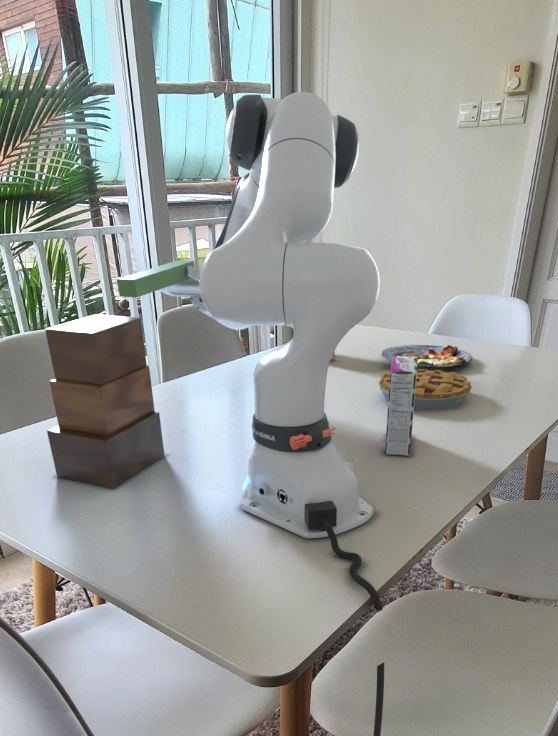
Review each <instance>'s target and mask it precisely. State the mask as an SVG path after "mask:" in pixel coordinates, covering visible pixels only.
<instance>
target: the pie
mask: <svg viewBox="0 0 558 736" xmlns="http://www.w3.org/2000/svg"><path fill="white" fill-rule="evenodd" d="M467 378H468V377H466V376H465V375H458V373H457V372H455V371H450V372H449V371H448V372H446V371H443V369H437V368H436V369H434V370H428V369H426V368H419V369H417V376H416V389H415V401H414V410H417V411H443V410H450V409H454V408H456V407H458V406H460V405H461V404H462V402H463V400H464V399H465V398H466V396H468V395H470V393H471V390H472V389H473V386H472V384H471V381H470V380H468V379H467ZM389 382H390V372H389V374H388V373H384V374H383V375H382V376H381V379H380V380H379V381H378V383H377V384H378V388H379V390H380V391H381V392H382V394H383V397H384V399H385V401H386V402H387V403H388V397H389Z"/></svg>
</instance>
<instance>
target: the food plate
mask: <svg viewBox="0 0 558 736" xmlns="http://www.w3.org/2000/svg"><path fill="white" fill-rule="evenodd" d="M458 348H459V346H452V345H451V344H447V345H446V346H443V345H428V344H403V345H397V346H391V347H387V348H385V349H383V350H382V352H381V355H380V356H381V357H382V358H384V359H385V360H388V361H390V362H392V358H393V356H414V357H417V368H418V367H422V368H423V367H426V368H427V369H430V367H434V368H452V367H457V366H464V365H465V364H469V363H470V362H471V361H472V359H473V356H472V354H471V353H468V352H467V351H465V350H463V349H458Z"/></svg>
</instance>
